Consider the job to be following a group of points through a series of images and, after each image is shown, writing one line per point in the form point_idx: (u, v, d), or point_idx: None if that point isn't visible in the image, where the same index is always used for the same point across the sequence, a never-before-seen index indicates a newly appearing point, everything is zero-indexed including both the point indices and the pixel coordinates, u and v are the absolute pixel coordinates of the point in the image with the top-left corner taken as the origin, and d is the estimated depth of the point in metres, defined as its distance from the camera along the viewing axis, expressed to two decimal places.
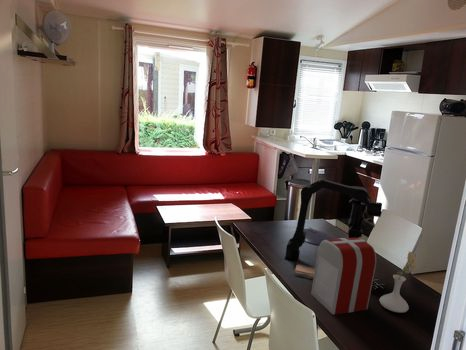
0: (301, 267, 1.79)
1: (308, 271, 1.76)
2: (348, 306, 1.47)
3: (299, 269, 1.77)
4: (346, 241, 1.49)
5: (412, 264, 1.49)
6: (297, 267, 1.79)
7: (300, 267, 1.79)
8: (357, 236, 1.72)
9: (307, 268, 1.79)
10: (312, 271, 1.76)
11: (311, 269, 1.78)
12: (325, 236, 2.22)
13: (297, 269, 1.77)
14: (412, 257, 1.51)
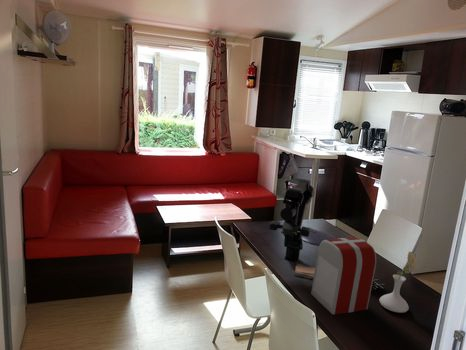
0: (301, 267, 1.79)
1: (308, 271, 1.76)
2: (348, 306, 1.47)
3: (299, 270, 1.76)
4: (346, 241, 1.49)
5: (412, 264, 1.49)
6: (297, 268, 1.78)
7: (300, 267, 1.79)
8: None
9: (307, 268, 1.79)
10: (312, 271, 1.76)
11: (311, 269, 1.78)
12: (325, 236, 2.22)
13: (297, 270, 1.76)
14: (412, 257, 1.51)
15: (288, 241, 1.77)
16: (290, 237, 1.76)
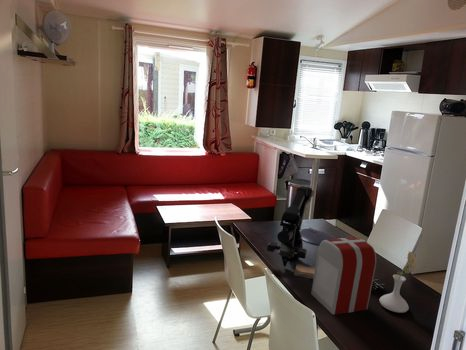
0: (301, 267, 1.79)
1: (308, 271, 1.76)
2: (348, 306, 1.47)
3: (299, 269, 1.77)
4: (346, 241, 1.49)
5: (412, 264, 1.49)
6: (297, 267, 1.79)
7: (300, 267, 1.79)
8: None
9: (307, 268, 1.79)
10: (312, 271, 1.76)
11: (311, 269, 1.78)
12: (325, 236, 2.22)
13: (297, 269, 1.77)
14: (412, 257, 1.51)
15: (285, 262, 1.79)
16: (287, 259, 1.78)
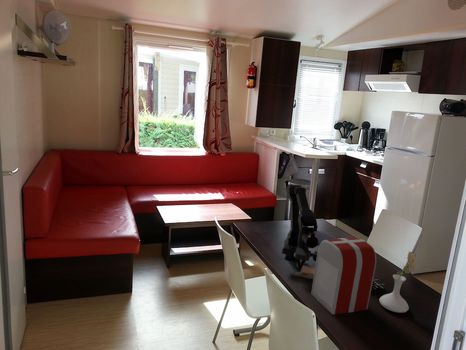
0: (307, 268, 1.78)
1: (313, 272, 1.75)
2: (348, 306, 1.47)
3: (304, 270, 1.76)
4: (346, 241, 1.49)
5: (412, 264, 1.49)
6: (303, 268, 1.78)
7: (306, 268, 1.79)
8: None
9: (313, 269, 1.78)
10: None
11: None
12: (325, 236, 2.22)
13: (302, 270, 1.76)
14: (412, 257, 1.51)
15: (300, 265, 1.77)
16: (302, 262, 1.76)
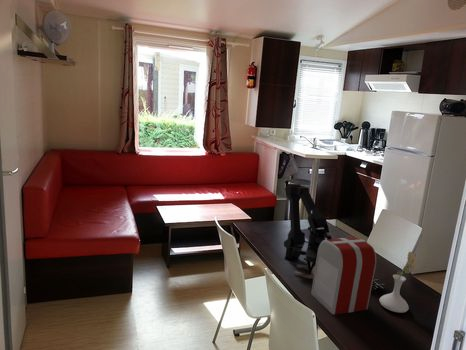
0: None
1: None
2: (348, 306, 1.47)
3: None
4: (346, 241, 1.49)
5: (412, 264, 1.49)
6: (313, 270, 1.77)
7: None
8: None
9: None
10: None
11: None
12: None
13: (313, 272, 1.75)
14: (412, 257, 1.51)
15: (311, 268, 1.75)
16: (313, 264, 1.74)
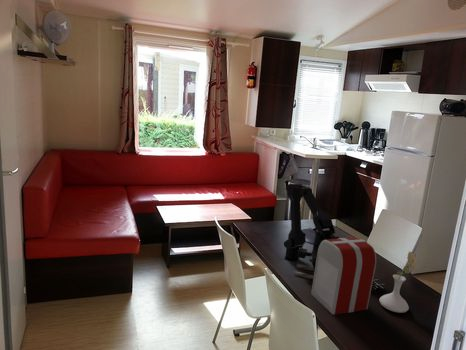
0: None
1: None
2: (348, 306, 1.47)
3: None
4: (346, 241, 1.49)
5: (412, 264, 1.49)
6: None
7: None
8: None
9: None
10: None
11: None
12: None
13: None
14: (412, 257, 1.51)
15: None
16: None
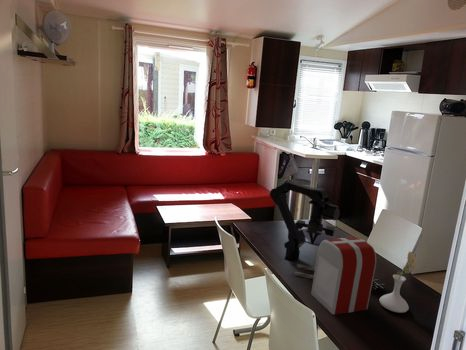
0: None
1: None
2: (348, 306, 1.47)
3: None
4: (346, 241, 1.49)
5: (412, 264, 1.49)
6: None
7: None
8: None
9: None
10: None
11: None
12: (325, 236, 2.21)
13: None
14: (412, 257, 1.51)
15: (313, 240, 1.81)
16: (315, 236, 1.80)
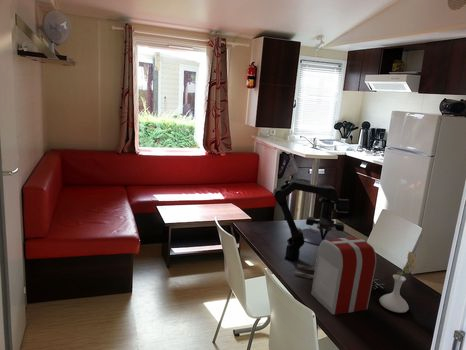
0: None
1: None
2: (348, 306, 1.47)
3: None
4: (346, 241, 1.49)
5: (412, 264, 1.49)
6: None
7: None
8: (317, 226, 1.88)
9: None
10: None
11: None
12: (325, 236, 2.22)
13: None
14: (412, 257, 1.51)
15: (323, 236, 1.88)
16: (325, 232, 1.87)
